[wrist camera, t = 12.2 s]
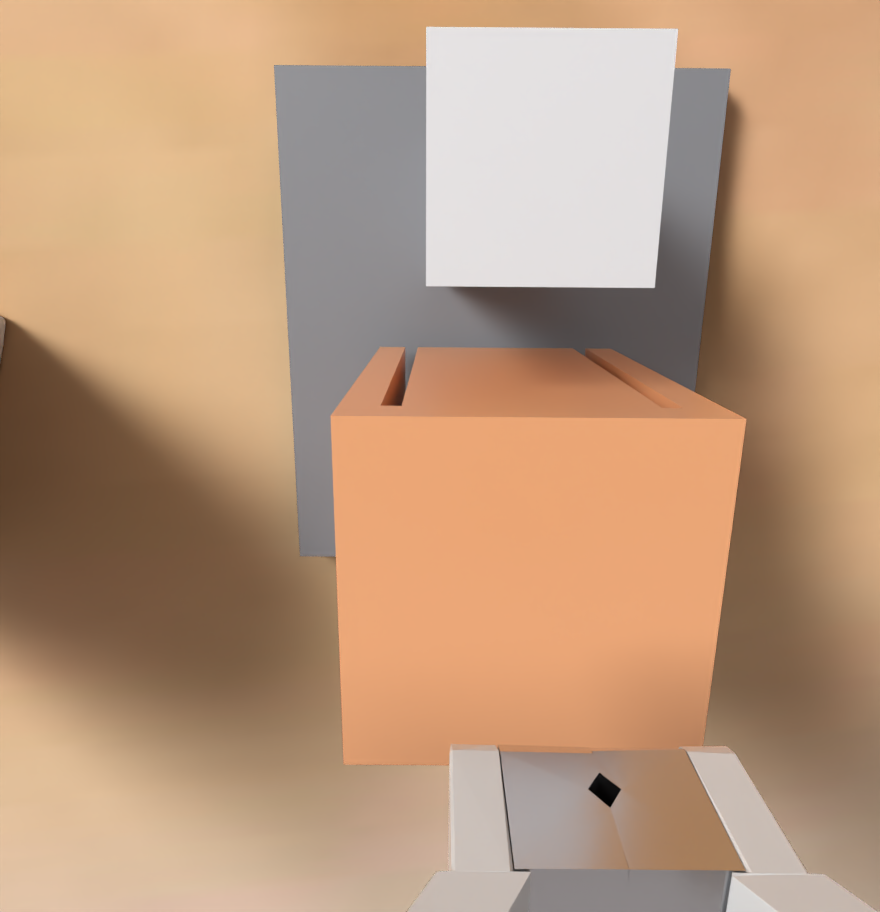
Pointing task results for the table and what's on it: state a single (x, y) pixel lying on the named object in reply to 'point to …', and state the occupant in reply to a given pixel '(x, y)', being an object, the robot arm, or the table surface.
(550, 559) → the orange block
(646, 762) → the robot arm
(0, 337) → the coffee box
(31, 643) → the table surface
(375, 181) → the post base
